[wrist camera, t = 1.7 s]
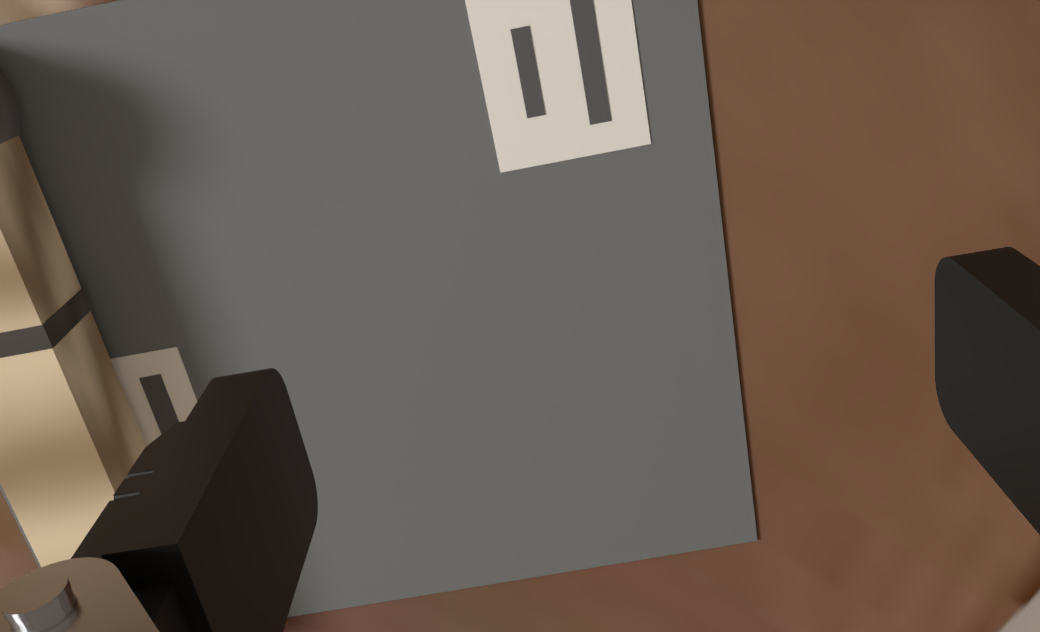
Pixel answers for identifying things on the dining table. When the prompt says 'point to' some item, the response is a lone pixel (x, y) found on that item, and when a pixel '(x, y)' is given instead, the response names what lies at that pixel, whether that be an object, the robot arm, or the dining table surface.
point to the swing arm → (52, 371)
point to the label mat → (414, 264)
